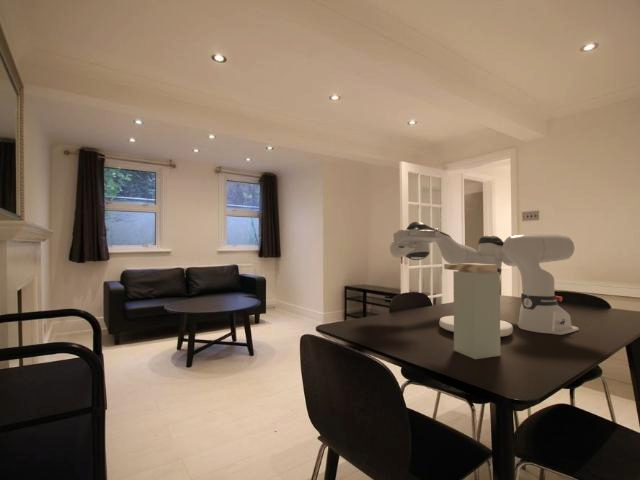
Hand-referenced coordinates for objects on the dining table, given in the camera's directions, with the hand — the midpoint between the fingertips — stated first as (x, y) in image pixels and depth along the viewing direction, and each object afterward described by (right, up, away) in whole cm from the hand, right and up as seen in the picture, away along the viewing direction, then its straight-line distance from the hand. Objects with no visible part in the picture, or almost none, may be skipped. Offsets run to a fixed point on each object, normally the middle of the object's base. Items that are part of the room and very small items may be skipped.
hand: (427, 229), depth 139 cm
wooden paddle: (+4, -15, -29) cm, 33 cm away
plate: (+16, -41, -8) cm, 45 cm away
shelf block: (+5, -40, -33) cm, 52 cm away
